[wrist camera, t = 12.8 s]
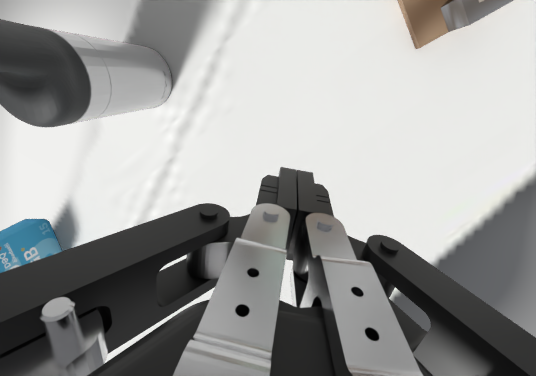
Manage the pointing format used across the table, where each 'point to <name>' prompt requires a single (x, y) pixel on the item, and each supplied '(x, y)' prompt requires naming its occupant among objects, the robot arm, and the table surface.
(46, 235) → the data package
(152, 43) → the table surface
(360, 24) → the table surface
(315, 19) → the table surface
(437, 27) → the pipe stand
